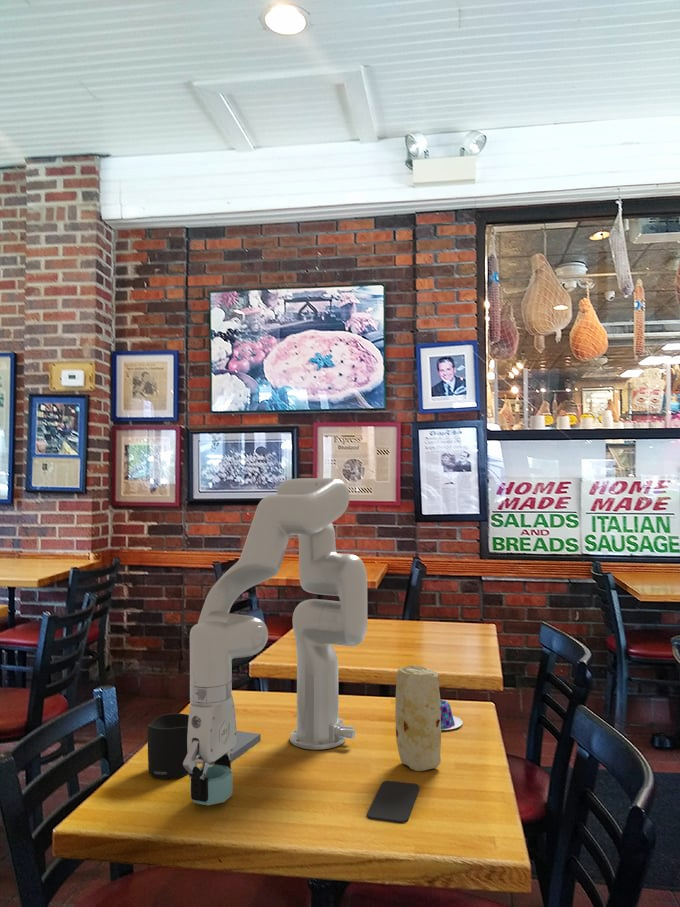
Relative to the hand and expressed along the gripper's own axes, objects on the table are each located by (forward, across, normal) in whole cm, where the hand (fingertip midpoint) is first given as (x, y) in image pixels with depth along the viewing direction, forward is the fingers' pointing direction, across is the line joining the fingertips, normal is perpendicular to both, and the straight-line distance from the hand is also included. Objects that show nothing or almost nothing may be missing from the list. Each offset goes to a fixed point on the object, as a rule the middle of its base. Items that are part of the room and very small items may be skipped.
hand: (211, 789), depth 122 cm
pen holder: (+3, +9, +15) cm, 18 cm away
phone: (+3, +12, -31) cm, 33 cm away
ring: (+1, 0, 0) cm, 1 cm away
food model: (+3, +29, -31) cm, 43 cm away
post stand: (+3, +23, +13) cm, 27 cm away
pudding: (+4, +56, -29) cm, 64 cm away
